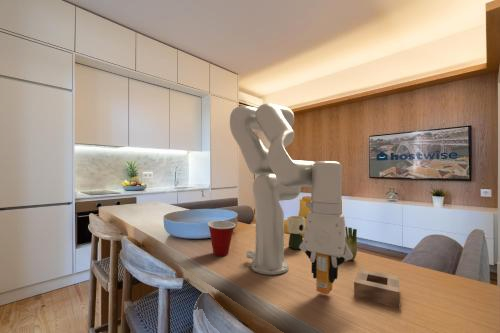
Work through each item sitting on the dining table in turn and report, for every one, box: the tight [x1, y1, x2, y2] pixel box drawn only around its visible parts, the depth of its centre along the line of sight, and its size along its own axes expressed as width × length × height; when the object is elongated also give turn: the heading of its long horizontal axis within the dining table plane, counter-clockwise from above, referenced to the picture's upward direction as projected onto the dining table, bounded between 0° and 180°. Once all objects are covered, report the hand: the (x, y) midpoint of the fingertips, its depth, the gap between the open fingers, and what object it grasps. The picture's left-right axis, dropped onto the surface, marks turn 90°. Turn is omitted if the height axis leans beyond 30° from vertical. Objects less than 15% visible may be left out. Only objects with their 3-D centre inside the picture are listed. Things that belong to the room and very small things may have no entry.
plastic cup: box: [207, 220, 236, 257], centre depth 93 cm, size 11×11×12 cm
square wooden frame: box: [353, 268, 401, 309], centre depth 64 cm, size 10×10×4 cm
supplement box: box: [315, 253, 333, 295], centre depth 62 cm, size 3×4×10 cm
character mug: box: [287, 215, 306, 250], centre depth 102 cm, size 11×7×13 cm, turn 150°
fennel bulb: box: [343, 225, 358, 261], centre depth 89 cm, size 6×5×12 cm
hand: (324, 277), depth 62 cm, fingers closed on supplement box, 3 cm apart
